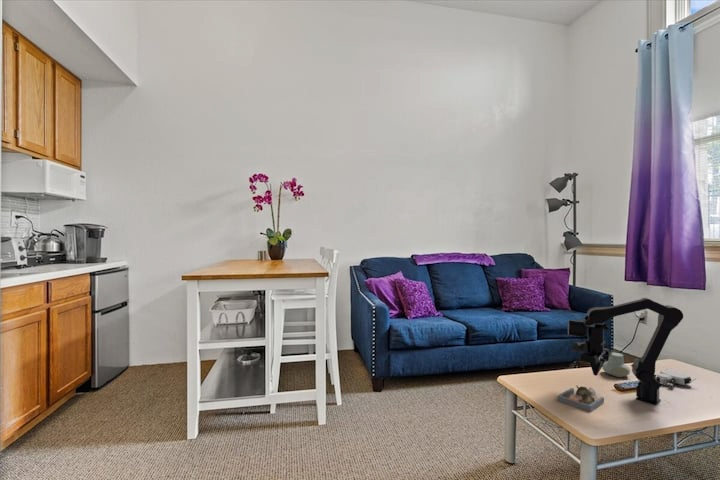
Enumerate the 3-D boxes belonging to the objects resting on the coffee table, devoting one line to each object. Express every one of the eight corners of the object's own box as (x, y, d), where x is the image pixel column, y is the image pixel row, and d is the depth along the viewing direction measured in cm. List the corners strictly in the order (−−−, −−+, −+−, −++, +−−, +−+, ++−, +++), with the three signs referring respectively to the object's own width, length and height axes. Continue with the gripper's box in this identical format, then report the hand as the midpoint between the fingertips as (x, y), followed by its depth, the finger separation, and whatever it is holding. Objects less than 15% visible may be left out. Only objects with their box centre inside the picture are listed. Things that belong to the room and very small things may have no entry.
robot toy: (672, 392, 157) (698, 386, 160) (671, 382, 157) (697, 376, 160) (643, 381, 169) (668, 376, 172) (643, 372, 168) (668, 367, 172)
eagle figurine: (570, 392, 150) (570, 396, 143) (581, 379, 150) (582, 382, 142) (588, 407, 147) (589, 411, 139) (599, 393, 146) (601, 397, 138)
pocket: (604, 402, 144) (604, 395, 144) (590, 412, 136) (590, 404, 136) (571, 392, 153) (571, 385, 153) (557, 400, 145) (557, 393, 145)
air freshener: (606, 377, 171) (606, 355, 171) (599, 371, 180) (599, 350, 180) (633, 379, 169) (633, 357, 169) (624, 373, 177) (624, 352, 177)
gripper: (583, 331, 166) (583, 365, 166) (565, 337, 155) (565, 374, 155) (612, 336, 158) (611, 372, 158) (595, 343, 146) (594, 382, 146)
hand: (595, 375), depth 154 cm, fingers closed
